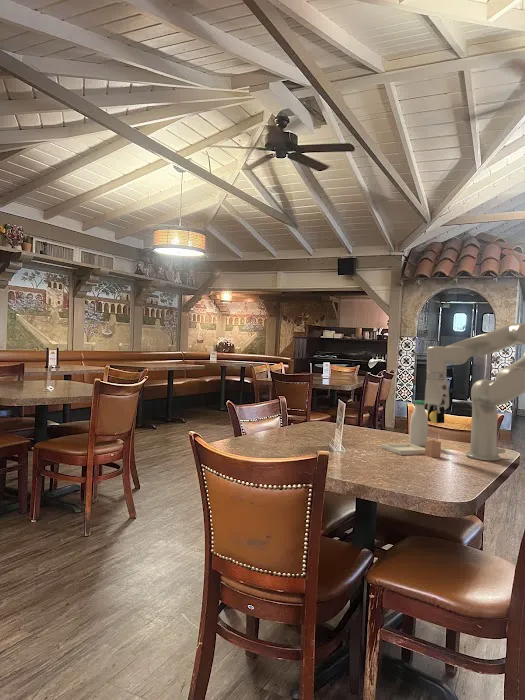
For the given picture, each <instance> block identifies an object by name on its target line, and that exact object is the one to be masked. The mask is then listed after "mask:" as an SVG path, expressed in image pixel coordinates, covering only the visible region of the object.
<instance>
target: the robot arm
mask: <svg viewBox="0 0 525 700" xmlns="http://www.w3.org/2000/svg"><path fill="white" fill-rule="evenodd" d="M517 345H524V346H525V322H520V323H512V324H507V325H505V326H502V327H499V328H497V329H494V330H490V331H487V332H486V333H482V334H479V335H476V336H473V337H469V338H466V339H463V340H460V341H457V342H454V343H452V344H449V345H446V346H441V345H439V346H438V345H434V346H428V347H427V349H426V380H425V387H424V388H425V390H424V400H423V401H424V404H425V407H426V411H427V418H428V422H432V421H431V420H430V417H429V415H430V413H431V412H432V411H435V409H436V408H437V411H438V413H437V423H436V424H445V414H446V412H447V410H448V408H449V407H450V393H449V392H450V391H449V384H448V380H447V365H454V366H455V365H458V366H459V365H463V364H465V363H467V361H468V360H469V358H472V357H476V356H477V357H478V356H485V355H486V356H487V355H491V354H494V353H497V352H500V351H503V350H505V349H507V348H511V347H514V346H517ZM494 379H495V380H493V379H479V380H477V381H475V382H474V383H473V385H472V386H471V389H470V398H471V410H472V411H471V429H470V432H471V433H470V451H467V452H466V453H465V456H466V457H467V458H470V459H474V460H481V461H487V462H489V461H491V462H492V461H493V462H495V461H500V460H501V456H500V455H499V454H505V453H506V449H505V448H502V447H501V448H499V447H498V446H497V438H498V437H497V436H498V434H497V433H498V421H499V420H498V413H499V412H498V406H502V405H504V404H507V403H509V402H510V401H513V400H514V399H516V398H517V397H519V396H521V395H523V394H524V393H525V351H524V353H523V355H522V357H520V358H519V359H518V360H516V361H515V362H513V363H511V364H508V366H506V367H503V368H502V369H500V370H499V371H498V372H497V373H496V374H495V378H494Z"/></svg>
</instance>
